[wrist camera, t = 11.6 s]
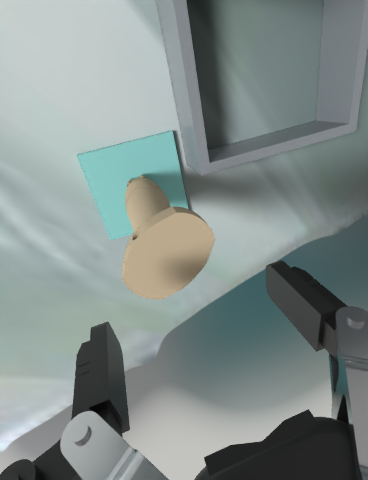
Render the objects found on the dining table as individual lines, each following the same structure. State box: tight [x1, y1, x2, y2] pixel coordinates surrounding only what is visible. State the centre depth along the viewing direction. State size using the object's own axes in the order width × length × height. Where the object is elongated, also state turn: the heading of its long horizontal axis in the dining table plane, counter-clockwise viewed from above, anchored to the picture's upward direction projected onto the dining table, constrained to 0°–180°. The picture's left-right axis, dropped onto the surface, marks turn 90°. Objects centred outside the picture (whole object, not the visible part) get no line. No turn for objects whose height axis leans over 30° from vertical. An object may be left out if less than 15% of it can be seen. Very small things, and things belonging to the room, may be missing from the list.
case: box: [156, 0, 368, 176], centre depth 19 cm, size 17×19×19 cm
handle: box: [122, 175, 215, 299], centre depth 23 cm, size 5×6×15 cm
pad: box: [77, 131, 188, 240], centre depth 29 cm, size 10×10×1 cm
